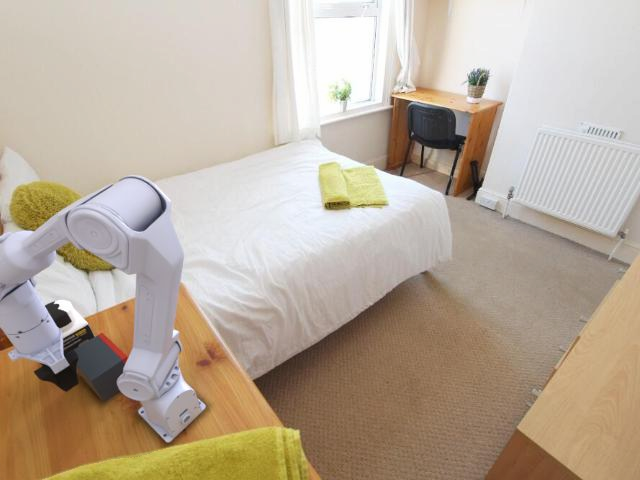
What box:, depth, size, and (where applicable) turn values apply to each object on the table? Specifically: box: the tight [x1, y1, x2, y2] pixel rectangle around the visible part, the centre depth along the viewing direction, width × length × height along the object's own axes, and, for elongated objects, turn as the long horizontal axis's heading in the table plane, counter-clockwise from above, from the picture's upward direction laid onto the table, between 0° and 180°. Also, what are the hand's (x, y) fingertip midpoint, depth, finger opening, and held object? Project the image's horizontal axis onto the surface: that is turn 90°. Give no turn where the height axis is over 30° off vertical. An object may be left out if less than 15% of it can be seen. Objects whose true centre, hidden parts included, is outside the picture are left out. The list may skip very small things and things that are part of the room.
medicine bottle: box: [44, 299, 96, 355], centre depth 70 cm, size 7×7×12 cm
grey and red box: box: [67, 332, 129, 403], centre depth 66 cm, size 10×7×7 cm
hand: (62, 375), depth 60 cm, fingers open, 7 cm apart
